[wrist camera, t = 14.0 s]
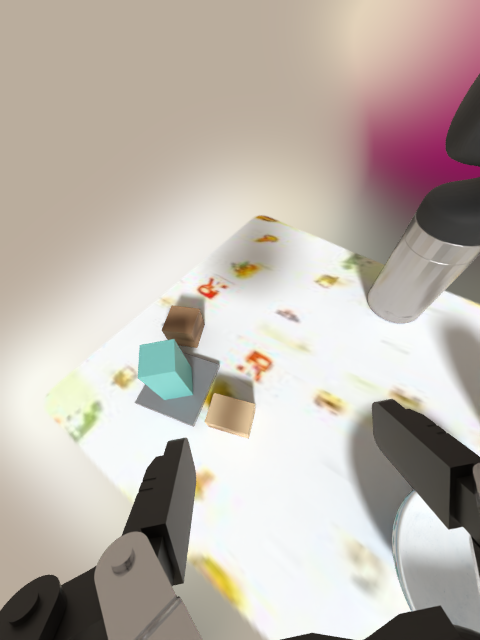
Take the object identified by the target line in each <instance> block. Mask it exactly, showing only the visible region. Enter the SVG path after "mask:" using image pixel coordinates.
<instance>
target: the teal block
mask: <svg viewBox="0 0 480 640" xmlns="http://www.w3.org/2000/svg"><path fill="white" fill-rule="evenodd" d="M138 379H140V380H141V381H142V382H143V383H144V384H146V385H147V386H148V387H149V388H150V389H152V390H153V391H154V392H155V393H156V394H158V395H159V396H160V397H161V398H162V399H163V400H168V399H174V398H179V397H184V396H190V395H193V383H192V368H191V366H190V364H189V363H188V361H187V359H186V358H185V356H184V354H183V353H182V351H181V349H180V348H179V346H178V345H177V343H176V341H175V340H174V339H171V340H166V341H160V342H154V343H149V344H143V345H140V350H139V367H138Z"/></svg>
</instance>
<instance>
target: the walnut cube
mask: <svg viewBox="0 0 480 640" xmlns="http://www.w3.org/2000/svg"><path fill="white" fill-rule="evenodd" d="M204 325H205V324H204V321H203V318H202V315H201V312H200V309H196V308H188V307H180V306H171V309H170V311H169V314H168V316H167V318H166V321H165V323H164V326H163V328H162V331H163V333H164V334H165V336H166V338H167V339H168V340H171V339H174V340H175V341H176V343H177V345H181V346H188V347H195V348H197V347H198V344H199V341H200V338H201V334H202V331H203V328H204Z"/></svg>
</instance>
